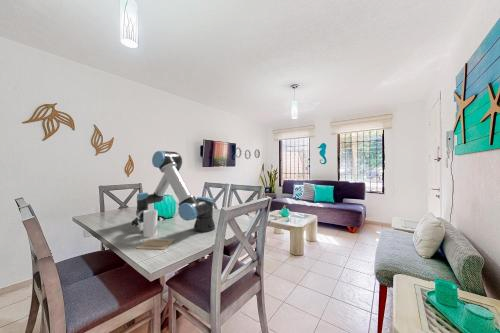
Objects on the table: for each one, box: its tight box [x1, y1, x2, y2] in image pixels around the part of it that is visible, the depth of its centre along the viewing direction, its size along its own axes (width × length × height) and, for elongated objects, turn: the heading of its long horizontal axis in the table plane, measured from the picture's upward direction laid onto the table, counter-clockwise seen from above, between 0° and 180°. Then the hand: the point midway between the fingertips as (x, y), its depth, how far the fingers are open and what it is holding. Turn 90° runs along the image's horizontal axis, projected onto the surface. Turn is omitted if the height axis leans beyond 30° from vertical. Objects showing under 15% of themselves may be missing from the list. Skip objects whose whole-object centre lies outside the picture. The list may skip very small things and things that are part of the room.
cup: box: [142, 209, 158, 238], centre depth 129 cm, size 8×8×16 cm
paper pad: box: [135, 238, 175, 250], centre depth 115 cm, size 16×13×1 cm
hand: (151, 223), depth 126 cm, fingers open, 13 cm apart
